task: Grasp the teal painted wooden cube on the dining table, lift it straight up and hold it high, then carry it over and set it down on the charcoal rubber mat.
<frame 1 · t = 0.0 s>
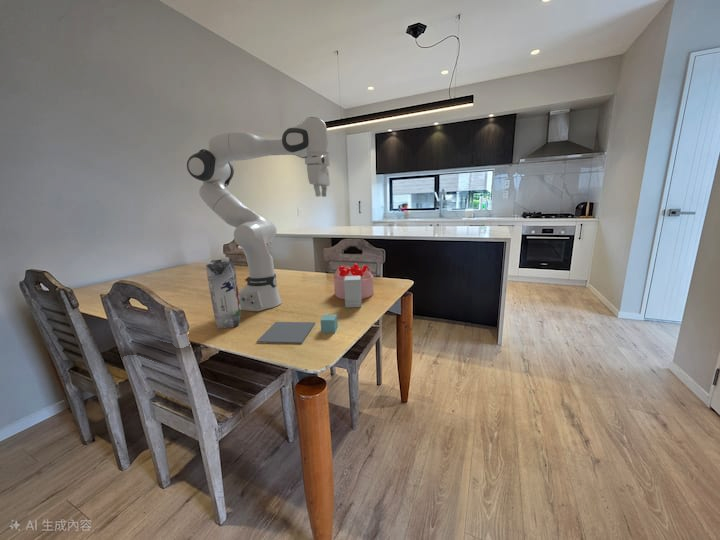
hand: (321, 196, 120), 48 cm above the table, fingers open, 8 cm apart
teal cube: (329, 329, 105), on the table
cake: (354, 294, 144), on the table
supplement box: (353, 305, 130), on the table
charcoal mat: (287, 332, 104), on the table
juice carton: (230, 324, 115), on the table
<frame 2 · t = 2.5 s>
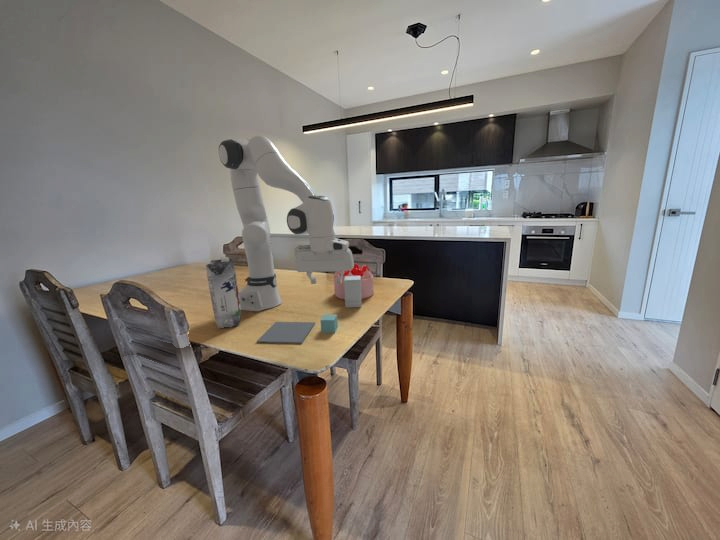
hand: (326, 283, 101), 18 cm above the table, fingers open, 8 cm apart
nothing on the table moved.
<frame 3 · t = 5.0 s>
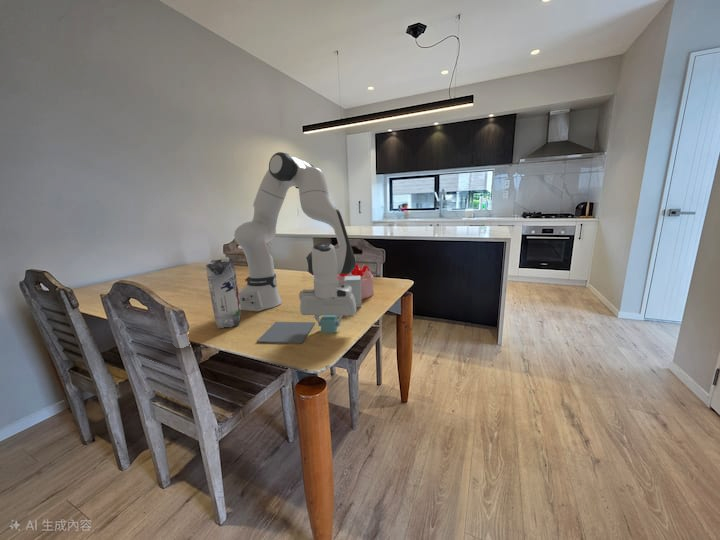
hand: (329, 325, 105), 2 cm above the table, fingers closed on teal cube, 5 cm apart
teal cube: (329, 329, 105), on the table, touching gripper
everything else where it was.
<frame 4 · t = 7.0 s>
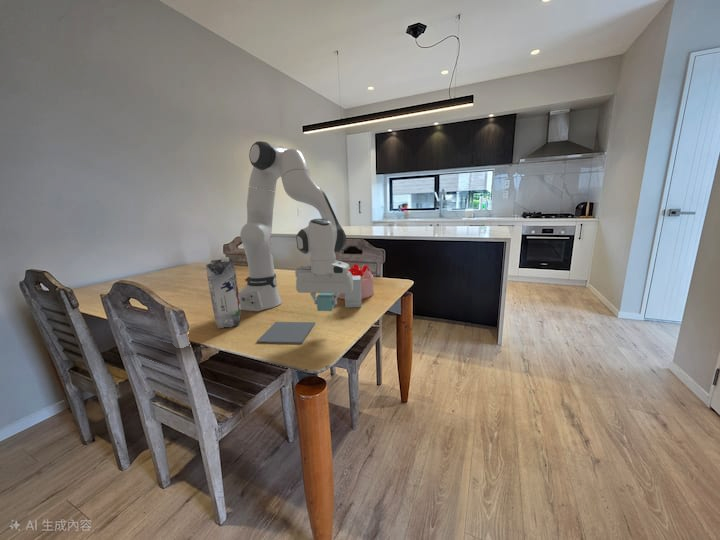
hand: (325, 304, 102), 10 cm above the table, fingers closed on teal cube, 5 cm apart
teal cube: (326, 308, 103), point 9 cm above the table, touching gripper
everything else where it was.
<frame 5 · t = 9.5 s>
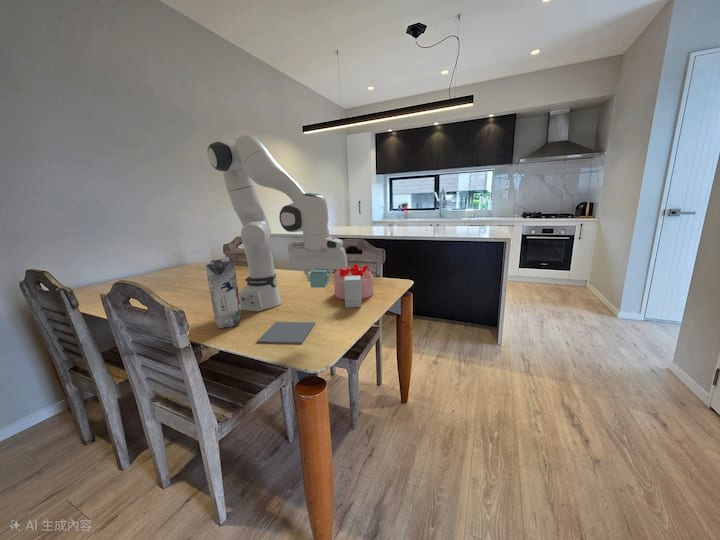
hand: (319, 281, 101), 19 cm above the table, fingers closed on teal cube, 5 cm apart
teal cube: (319, 285, 101), point 17 cm above the table, touching gripper
everything else where it was.
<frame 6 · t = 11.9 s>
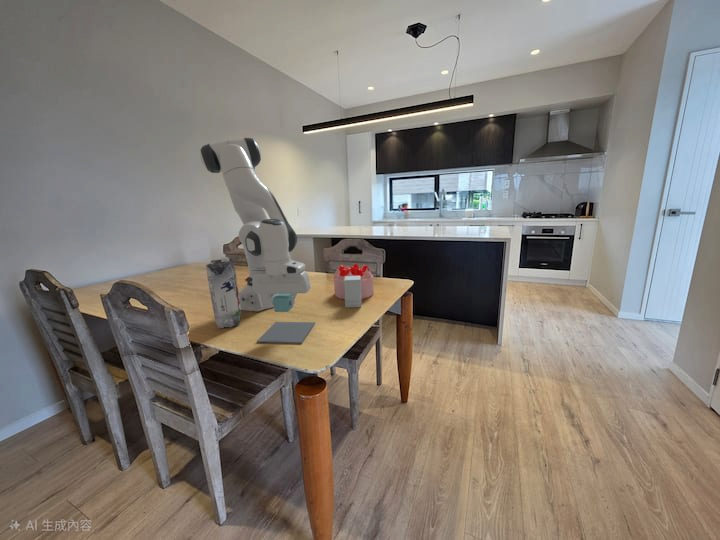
hand: (283, 304, 101), 11 cm above the table, fingers closed on teal cube, 5 cm apart
teal cube: (284, 309, 102), point 9 cm above the table, touching gripper
everything else where it was.
when the fingers open (4 cm above the table, at t = 14.1 s): teal cube drops 1 cm, resting on charcoal mat.
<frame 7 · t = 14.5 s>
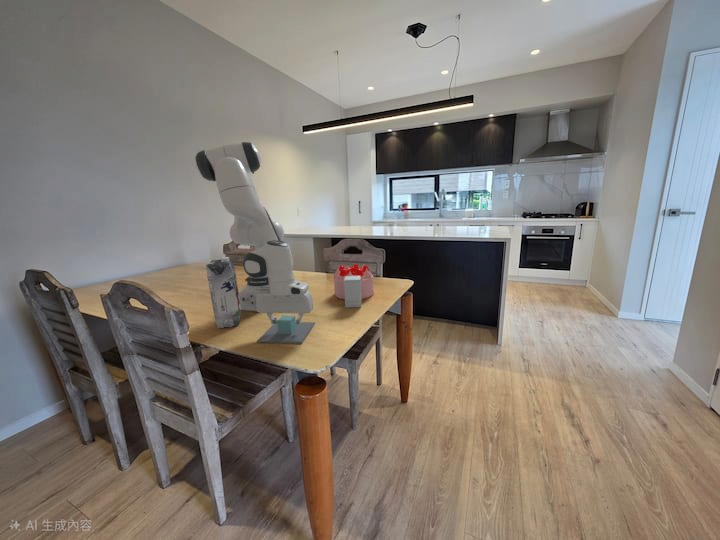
hand: (286, 323, 103), 4 cm above the table, fingers open, 8 cm apart
teal cube: (287, 331, 104), point 1 cm above the table, touching charcoal mat
everything else where it was.
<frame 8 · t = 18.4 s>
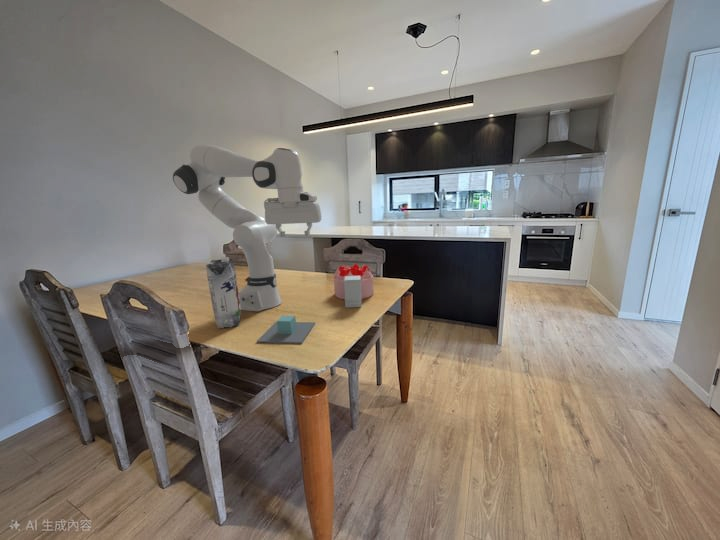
hand: (294, 236, 104), 34 cm above the table, fingers open, 8 cm apart
nothing on the table moved.
at the end: teal cube inside the target area on the charcoal mat (0.0 cm from its centre), point 0.6 cm above the charcoal mat's base; teal cube tilted 0°; the gripper is holding nothing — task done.
